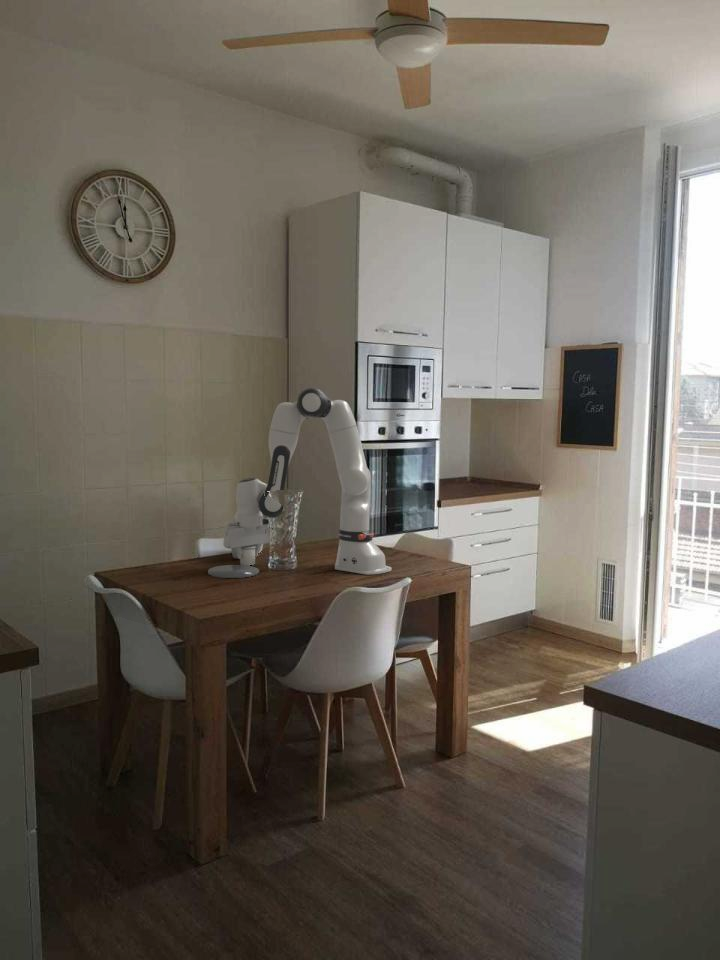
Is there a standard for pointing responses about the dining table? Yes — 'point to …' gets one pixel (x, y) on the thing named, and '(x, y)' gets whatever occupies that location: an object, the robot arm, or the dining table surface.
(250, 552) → the cup
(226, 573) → the disc
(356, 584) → the dining table surface
